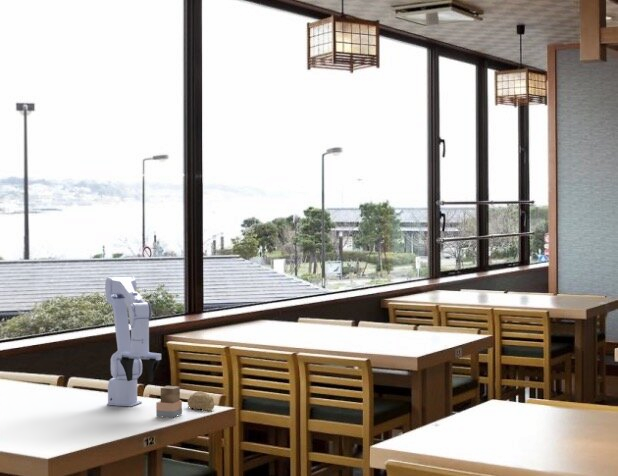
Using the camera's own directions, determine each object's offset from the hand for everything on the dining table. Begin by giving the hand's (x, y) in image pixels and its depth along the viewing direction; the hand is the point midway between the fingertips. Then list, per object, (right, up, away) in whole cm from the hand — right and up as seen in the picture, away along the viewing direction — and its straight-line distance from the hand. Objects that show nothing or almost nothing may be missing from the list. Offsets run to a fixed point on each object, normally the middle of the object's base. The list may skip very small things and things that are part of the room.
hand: (140, 381), depth 310 cm
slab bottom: (+10, -11, -4) cm, 15 cm away
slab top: (+10, -8, -4) cm, 14 cm away
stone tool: (+19, -11, +8) cm, 23 cm away
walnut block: (+10, -6, -4) cm, 12 cm away
